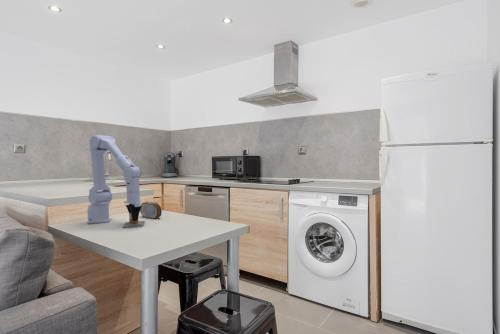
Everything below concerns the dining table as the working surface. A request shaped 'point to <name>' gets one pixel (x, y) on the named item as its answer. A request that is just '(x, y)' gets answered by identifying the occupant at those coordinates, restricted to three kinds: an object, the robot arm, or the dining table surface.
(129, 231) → the dining table surface
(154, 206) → the tin
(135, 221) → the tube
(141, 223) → the card
